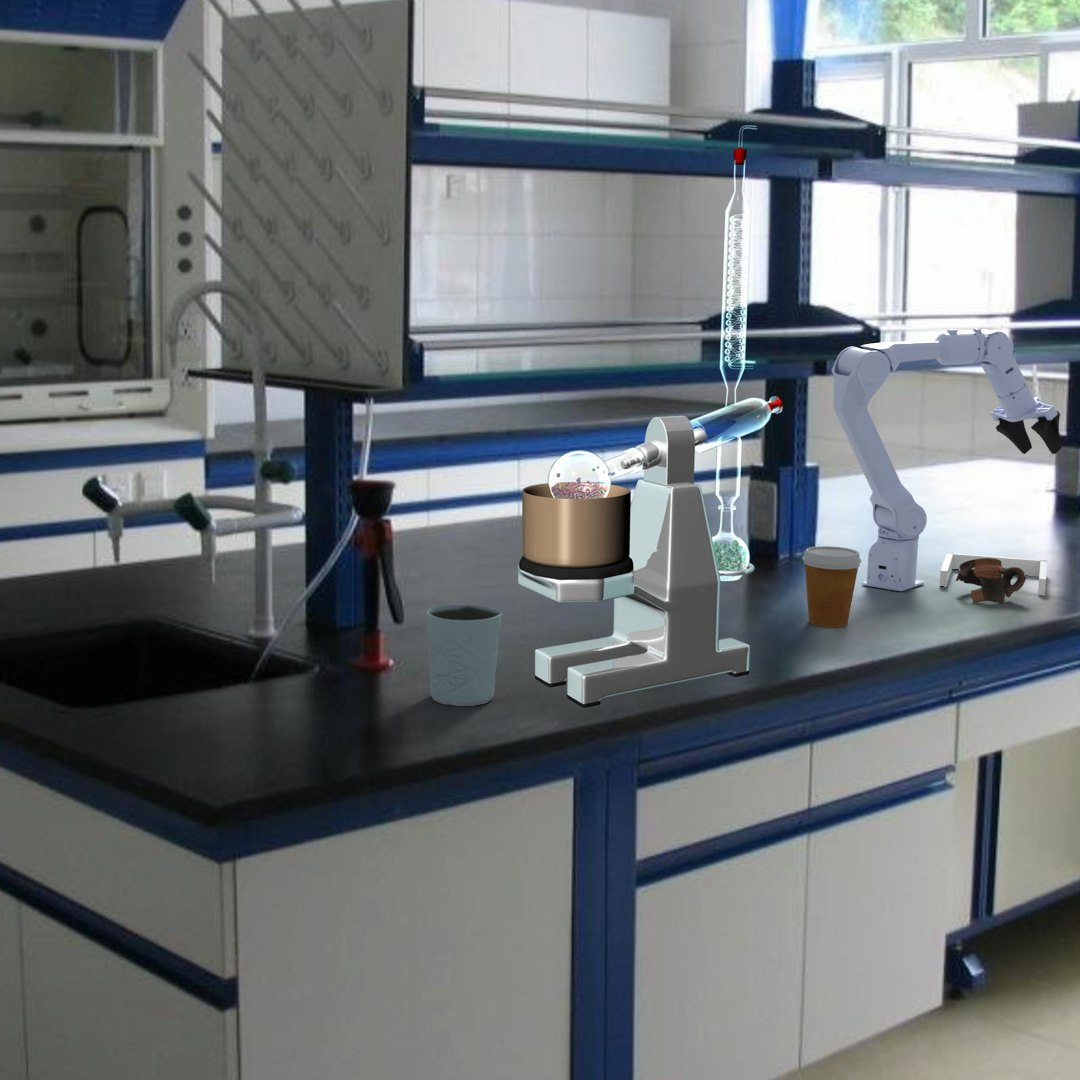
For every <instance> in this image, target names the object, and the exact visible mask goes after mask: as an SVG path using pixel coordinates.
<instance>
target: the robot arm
mask: <svg viewBox="0 0 1080 1080" xmlns="http://www.w3.org/2000/svg"><path fill="white" fill-rule="evenodd" d="M860 347H862V348H860ZM860 347H857V346H848V347H846V348H844V349H843V350H841V351H840V352H839V354H838V355H837V357H836V359H835V362H834V364H833V366H832V368H831V373H832V375H833V385H834V386H833V410H834V412H835V414H836V417H837V419H838V420H839V423H840V425H841V427H842V430H843V431H844V433H845V435H846V437H847V440H848V442H849V444H850V447H851V448H852V451H853V452H854V453H853V454H854V455H855V456H856V459H857V461H858V464H859V466H860V469H861V470H862V472H863V475H864V476H865V479H866V482H867V483H868V486H869V487H870V490H871V492H872V493H871V495H870V498H869V501H870V504H871V506H872V518H873V521H874V524H875V525H876V526H877V527H878V528H877V540H876V542H875V543H874V544H872V546H870V549H869V550H868V557H867V570H866V571H867V572H866V573H867V574H866V581H863V582H861V585H862V586H866V587H867V586H868V587H874V588H879V589H885V590H891V591H896V592H903V591H906V590H909V589H912V588H915V587H919V586H922V585H924V584H925V581H924V580H921V579H920V580H919V579H917V565H918V551H919V539H920V535H921V534H922V533H923V531H924V530H925V528H926V526H927V523H928V520H927V519H928V518H927V513H926V511H925V509H924V507H922V506H921V505H919V504H918V503H917V502H916V501H915V499H914V497H913V495H912V493H910V491H909V490H908V489H907V488H906V487H905V486H904V485H903V484H902V482H901V480H900V477H899V475H898V473H897V471H896V469H895V467H894V464H893V462H892V461H891V459H890V456H889V454H888V452H887V449H886V447H885V444H884V443H883V441H882V438H881V436H880V434H879V431H878V429H877V427H876V426H875V423H874V421H873V419H872V417H871V414H870V412H869V410H868V406H869V404H870V401H871V399H872V398H873V397H874V395H875V394H876V393H877V392H878V391H879V390H880V388H881V387H882V386H883V384H884V383H885V382H886V381H887V379H888V378H889V376H890V372H895V371H896V370H897V369H898V367H899V365H900V363H908V362H917V361H925V360H934V359H935V361H937V362H938V363H939V364H940V365H942V366H956V365H957V366H958V365H969V364H970V365H971V364H977V363H979V362H980V363H979V364H980V365H981V367H982V370H983V371H984V374H985V376H986V377H987V380H988V382H989V383H990V386H991V387H992V390H993V391H994V393H995V395H996V398H997V400H998V402H999V403H1000V406H996V407H995V408H994V409H993V410H992V411H991V412H990V415H991V417H992V418H993V421H994V422H998V423H999V424H998V425H996V426H995V429H996V431H997V432H998V433H1000V434H1002V435H1004V436H1005V437H1006V438H1007V439H1009V441H1010V442H1012V444H1013V445H1014V446H1015V447H1016V448H1017V449H1018V450H1019V451H1020V453H1021V454H1023V455H1026V454H1027V453H1028V452H1029V451H1030V450H1032V448H1033V445H1032V441H1031V439H1030V437H1029V435H1028V432H1027V431H1026V430H1027V429H1026V426H1025V422H1024V420H1032V419H1033V420H1034V419H1037V420H1038V421H1036V422H1035V423H1033V424H1032V425H1031V426H1030V428H1031V430H1033V431H1034V432H1035V433H1036V434H1037V435H1038V436H1039V437H1040V438H1041V439H1042V440H1043V442H1044V444H1045V446H1046V447H1047V449H1048V451H1049V452H1050V453H1051V454H1052V455H1056V454H1057V453H1058V452H1059V451H1060V450H1061V449H1062V448H1063V446H1062V442H1061V436H1060V417H1061V413H1060V411H1058V410H1056V407H1055V406H1054V405H1053V404H1052V405H1049V404H1046V403H1043V402H1041V401H1040V398H1039V396H1035V397H1034V395H1033V392H1032V391H1031V389H1030V387H1029V385H1028V383H1027V380H1026V379H1025V376H1024V374H1023V373H1022V370H1021V369H1020V367H1019V365H1018V363H1017V360H1016V359H1015V357H1014V354H1013V353H1014V341H1013V339H1012V338H1009V336H1008V335H1007V334H1006V333H1004V332H1002V331H998V330H997V331H996V330H992V329H982V328H973V330H972V331H959V330H958V329H956V328H955V329H953V328H950V329H949V328H948V329H947V331H946V332H942V333H940V334H939V335H938V336H937V337H936V338H935V339H934V340H929V341H928V340H926V341H924V340H923V341H922V340H920V341H916V340H915V341H883V342H875V343H874V342H873V343H868V344H863V345H860Z"/></svg>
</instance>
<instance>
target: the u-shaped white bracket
mask: <svg viewBox="0 0 1080 1080" xmlns="http://www.w3.org/2000/svg"><path fill="white" fill-rule="evenodd" d="M981 558H994V559H998V560H1000V561H1001V563H1002V564H1001V565H1002V567H1003V568H1011V567H1018V568H1020V569H1022V570H1023V572H1024V576H1025V575H1028V576H1027V577H1038V588H1037V589H1038V590H1037V596H1046V586H1047V585H1046V584H1047V571H1048V570H1047V569H1048V560H1047V559H1034V558H1024V557H1023V558H1022V557H1010V556H1009V557H1008V556H996V555H983V554H981V555H980V554H970V553H958V552H946V555H945V558H944V560H943V562H942V565H941V569H940V574H939V575H940V576H939V586H946V587H947V586H948V583H949V581H950V577H951V575H952V572H953V570H952V569H960V565H961V564H962V563H964V562H966V561H969V560H974V559H981ZM974 568H975V567H974ZM974 568H972V569H974ZM949 576H950V577H949Z"/></svg>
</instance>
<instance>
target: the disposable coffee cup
mask: <svg viewBox="0 0 1080 1080" xmlns="http://www.w3.org/2000/svg"><path fill="white" fill-rule="evenodd" d="M801 559H802V561H803V564H804V569H805V586H806V598H807V599H806V600H807V611H808V613H807V614H808V615H807V616H808V623H809V624H810V623H811V624H810V625H812V626H816V625H817V626H816V627H820V626H822V628H833V627H836V628H842V626H843V627H847V625H848V623H849V619H850V618H849V617H850V613H851V608H852V603H853V597H854V590H855V585H856V583H857V582H856V581H857V576H858V575H857V574H858V570H859V567H860V566H861V563H862V562H863V561H862V559H861V558H860V553H859V551H858V550H856V549H852V548H848V547H843V546H842V547H840V546H829V545H828V546H826V545H825V546H821V545H819V546H810V547H807V548H805V552H804V555H802V558H801Z"/></svg>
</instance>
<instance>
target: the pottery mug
mask: <svg viewBox="0 0 1080 1080" xmlns="http://www.w3.org/2000/svg"><path fill="white" fill-rule="evenodd" d="M1001 564H1002V563H1001V561H1000V560H998V559H994V558H981V559H974V560H969V561H966V562H964V563H962V564H961V565H960V570H959V571H960V572H958V574H957V576H956V579H955V581H956V582H958V581H960V582H963V583H964V584H968V585H969V584H970V585H974V586H979V588H977V589H972V590H971V591H970V593H971V600H972V603H982V602H991V603H992V602H993V603H1002V604H1004V603H1005V597H1006V598H1010V597H1011V596H1012V594H1014V593H1015V592H1018V591H1020V589H1022V587H1023V586H1024V585H1025V582H1026V580H1027V576H1025V575H1024V572H1023V570H1022V569H1020V568H1018V567H1011V568H1003V567H1002V565H1001ZM974 567H975V568H974ZM972 568H974V569H972ZM1014 577H1016V578H1017V579H1016V581H1015V582H1014V583H1013V584H1012V580H1013V578H1014Z"/></svg>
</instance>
